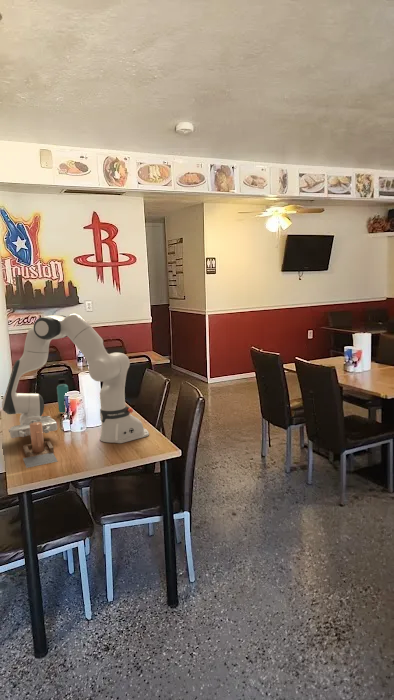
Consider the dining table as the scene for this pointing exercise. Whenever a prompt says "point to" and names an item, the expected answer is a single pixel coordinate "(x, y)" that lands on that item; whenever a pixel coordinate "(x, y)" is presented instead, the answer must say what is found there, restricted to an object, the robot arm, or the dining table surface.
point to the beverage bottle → (61, 394)
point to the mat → (39, 460)
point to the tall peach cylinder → (37, 437)
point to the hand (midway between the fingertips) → (35, 433)
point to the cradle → (29, 453)
